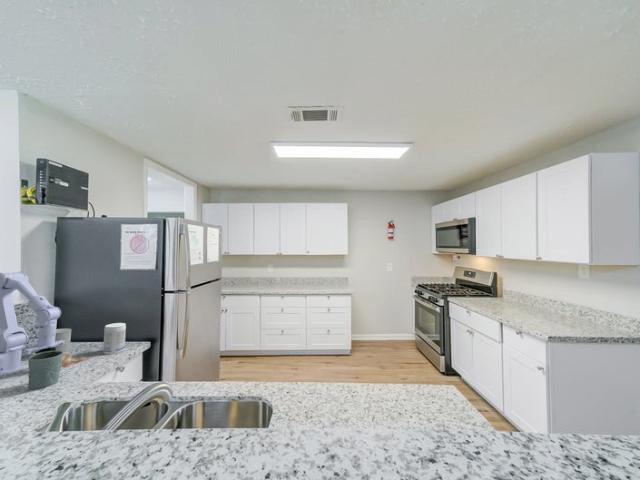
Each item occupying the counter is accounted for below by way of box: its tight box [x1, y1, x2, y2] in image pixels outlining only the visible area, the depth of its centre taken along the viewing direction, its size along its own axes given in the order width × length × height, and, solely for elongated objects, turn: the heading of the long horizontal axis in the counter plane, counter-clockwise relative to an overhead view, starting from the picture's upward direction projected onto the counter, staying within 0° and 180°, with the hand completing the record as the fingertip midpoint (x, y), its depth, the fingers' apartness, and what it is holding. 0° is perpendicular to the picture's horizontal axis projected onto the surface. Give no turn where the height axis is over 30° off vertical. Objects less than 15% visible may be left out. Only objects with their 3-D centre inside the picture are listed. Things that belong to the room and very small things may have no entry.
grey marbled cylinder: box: [54, 327, 72, 353], centre depth 144 cm, size 10×10×12 cm
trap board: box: [61, 355, 90, 368], centre depth 134 cm, size 12×11×1 cm
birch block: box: [61, 352, 72, 366], centre depth 131 cm, size 4×4×4 cm
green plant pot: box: [27, 351, 63, 391], centre depth 111 cm, size 10×10×12 cm
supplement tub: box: [102, 322, 127, 355], centre depth 150 cm, size 10×10×15 cm
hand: (44, 365), depth 124 cm, fingers closed
